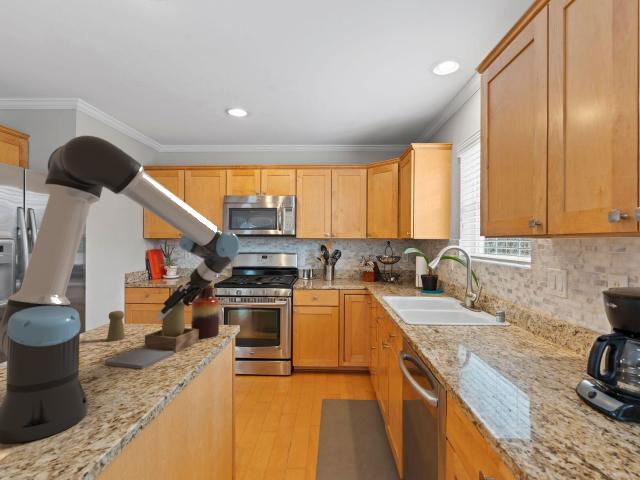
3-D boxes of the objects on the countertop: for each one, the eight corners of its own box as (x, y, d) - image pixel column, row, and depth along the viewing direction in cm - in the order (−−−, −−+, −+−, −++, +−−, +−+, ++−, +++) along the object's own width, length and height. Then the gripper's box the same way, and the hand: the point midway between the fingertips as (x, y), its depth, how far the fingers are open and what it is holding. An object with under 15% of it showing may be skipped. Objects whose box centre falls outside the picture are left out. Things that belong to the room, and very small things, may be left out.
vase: (186, 338, 131) (187, 287, 132) (197, 331, 142) (198, 284, 142) (213, 339, 131) (213, 287, 131) (222, 331, 142) (222, 284, 142)
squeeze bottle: (176, 340, 117) (177, 290, 118) (156, 339, 119) (157, 289, 119) (189, 334, 125) (190, 287, 126) (170, 333, 127) (172, 286, 127)
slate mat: (142, 369, 99) (142, 365, 99) (105, 364, 102) (105, 361, 102) (174, 354, 112) (174, 351, 112) (140, 350, 116) (140, 347, 116)
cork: (110, 337, 132) (111, 309, 132) (127, 336, 133) (127, 309, 133) (103, 341, 126) (104, 312, 126) (121, 341, 127) (121, 312, 127)
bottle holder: (175, 352, 114) (176, 338, 114) (144, 349, 117) (144, 335, 117) (198, 342, 126) (198, 329, 126) (169, 339, 130) (170, 326, 130)
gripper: (194, 284, 109) (152, 329, 113) (225, 279, 128) (188, 318, 132) (181, 268, 111) (139, 313, 114) (213, 265, 130) (177, 304, 133)
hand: (165, 316), depth 123 cm, fingers closed on squeeze bottle, 6 cm apart
